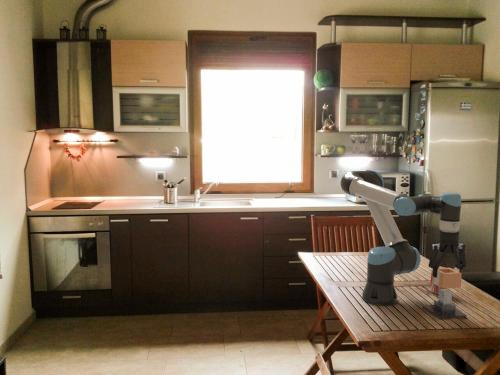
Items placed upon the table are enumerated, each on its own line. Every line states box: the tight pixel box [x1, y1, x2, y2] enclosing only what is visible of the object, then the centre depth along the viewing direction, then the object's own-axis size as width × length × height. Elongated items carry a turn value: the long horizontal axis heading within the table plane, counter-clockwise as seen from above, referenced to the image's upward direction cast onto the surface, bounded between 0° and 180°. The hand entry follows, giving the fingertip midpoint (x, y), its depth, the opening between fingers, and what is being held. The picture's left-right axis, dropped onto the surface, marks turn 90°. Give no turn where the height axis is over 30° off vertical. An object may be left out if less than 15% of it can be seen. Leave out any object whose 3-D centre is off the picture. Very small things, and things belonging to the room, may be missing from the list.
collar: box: [431, 267, 463, 289], centre depth 182 cm, size 8×8×6 cm
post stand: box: [423, 288, 467, 320], centre depth 183 cm, size 12×12×10 cm
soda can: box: [429, 265, 447, 295], centre depth 207 cm, size 7×7×12 cm
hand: (446, 284), depth 182 cm, fingers closed on collar, 8 cm apart
